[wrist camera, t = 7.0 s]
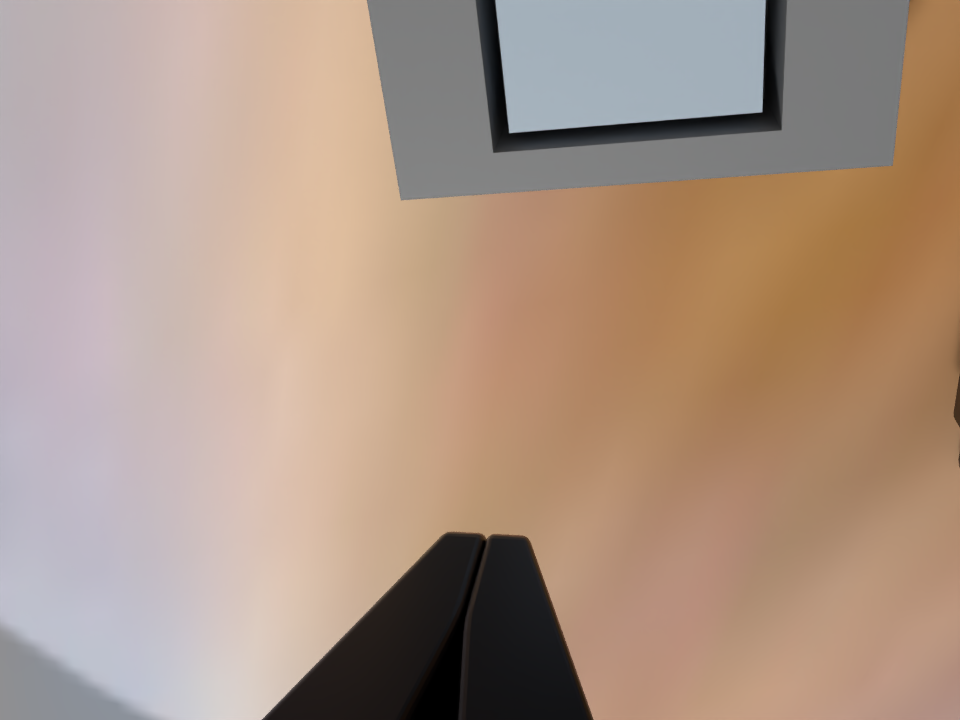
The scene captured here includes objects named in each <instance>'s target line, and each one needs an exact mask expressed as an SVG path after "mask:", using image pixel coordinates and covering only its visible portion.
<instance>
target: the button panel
mask: <svg viewBox="0 0 960 720" xmlns="http://www.w3.org/2000/svg"><path fill="white" fill-rule="evenodd" d="M909 1H910V0H766V5H765V38H764V72H763V105H762V112H759V113H747V114H735V115H723V116H711V117H699V118H687V119H674V120H662V121H650V122H638V123H626V124H614V125H601V126H589V127H577V128H565V129H553V130H541V131H528V132H516V133H509V125H508V115H507V106H506V96H505V87H504V77H503V68H502V58H501V49H500V39H499V30H498V20H497V11H496V1H495V0H367V3H368V9H369V15H370V21H371V27H372V33H373V38H374V44H375V50H376V56H377V62H378V68H379V74H380V80H381V86H382V92H383V97H384V103H385V109H386V115H387V121H388V127H389V133H390V139H391V145H392V151H393V156H394V162H395V168H396V174H397V180H398V186H399V192H400V198H401V200H411V199H425V198H439V197H454V196H468V195H482V194H496V193H510V192H525V191H539V190H553V189H567V188H581V187H596V186H610V185H624V184H638V183H652V182H667V181H681V180H695V179H709V178H723V177H738V176H752V175H766V174H780V173H794V172H809V171H823V170H837V169H851V168H865V167H880V166H893V157H894V148H895V138H896V128H897V118H898V108H899V99H900V89H901V79H902V69H903V59H904V50H905V40H906V30H907V20H908V10H909Z"/></svg>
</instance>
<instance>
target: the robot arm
mask: <svg viewBox="0 0 960 720" xmlns="http://www.w3.org/2000/svg"><path fill="white" fill-rule="evenodd" d="M954 418H955V420H956V422H957V423H958V425H959V427H960V376H959V382H958V389H957V395H956V401H955V408H954ZM959 467H960V454H959ZM262 720H593V717H592V714H591V711H590V708H589V706H588V703H587V700H586V697H585V694H584V691H583V689H582V686H581V683H580V680H579V677H578V675H577V672H576V669H575V666H574V663H573V660H572V658H571V655H570V652H569V649H568V646H567V644H566V641H565V638H564V635H563V632H562V630H561V627H560V624H559V621H558V618H557V615H556V613H555V610H554V607H553V604H552V601H551V599H550V596H549V593H548V590H547V587H546V585H545V582H544V579H543V576H542V573H541V570H540V568H539V565H538V562H537V559H536V556H535V554H534V551H533V548H532V545H531V542H530V541H529V539H528V538H527V537H525V536H519V535H502V534H492V535H490V536H489V537H488V538H487V539H486V537H485V536H484V535H483V534H480V533H466V532H447V533H445V534H443V535H442V536H441V537H440V538H439V539H438V540H437V541H436V542H435V543H434V544H433V545H432V546H431V547H430V548H429V549H428V550H427V551H426V552H425V553H424V554H423V555H422V556H421V557H420V559H419V560H418V561H417V562H416V563H415V564H414V565H413V566H412V567H411V568H410V569H409V570H408V571H407V572H406V573H405V574H404V575H403V576H402V577H401V578H400V579H399V580H398V581H397V582H396V583H395V584H394V585H393V586H392V587H391V588H390V589H389V590H388V591H387V592H386V593H385V594H384V595H383V596H382V597H381V598H380V599H379V600H378V601H377V602H376V604H375V605H374V606H373V607H372V608H371V609H370V610H369V611H368V612H367V613H366V614H365V615H364V616H363V617H362V618H361V619H360V620H359V621H358V622H357V623H356V624H355V625H354V626H353V627H352V628H351V629H350V630H349V631H348V632H347V633H346V634H345V635H344V636H343V637H342V638H341V639H340V640H339V641H338V642H337V643H336V644H335V645H334V646H333V647H332V649H331V650H330V651H329V652H328V653H327V654H326V655H325V656H324V657H323V658H322V659H321V660H320V661H319V662H318V663H317V664H316V665H315V666H314V667H313V668H312V669H311V670H310V671H309V672H308V673H307V674H306V675H305V676H304V677H303V678H302V679H301V680H300V681H299V682H298V683H297V684H296V685H295V686H294V687H293V688H292V689H291V690H290V691H289V692H288V694H287V695H286V696H285V697H284V698H283V699H282V700H281V701H280V702H279V703H278V704H277V705H276V706H275V707H274V708H273V709H272V710H271V711H270V712H269V713H268V714H267V715H266V716H265V717H264V718H263V719H262Z"/></svg>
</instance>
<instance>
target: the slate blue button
mask: <svg viewBox="0 0 960 720" xmlns="http://www.w3.org/2000/svg"><path fill="white" fill-rule="evenodd" d="M495 1H496V11H497V20H498V30H499V39H500V49H501V58H502V68H503V77H504V87H505V96H506V106H507V115H508V125H509V133H516V132H528V131H541V130H553V129H565V128H577V127H589V126H601V125H614V124H626V123H638V122H650V121H662V120H674V119H687V118H699V117H711V116H723V115H735V114H747V113H759V112H762V105H763V72H764V38H765V5H766V0H495Z"/></svg>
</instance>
